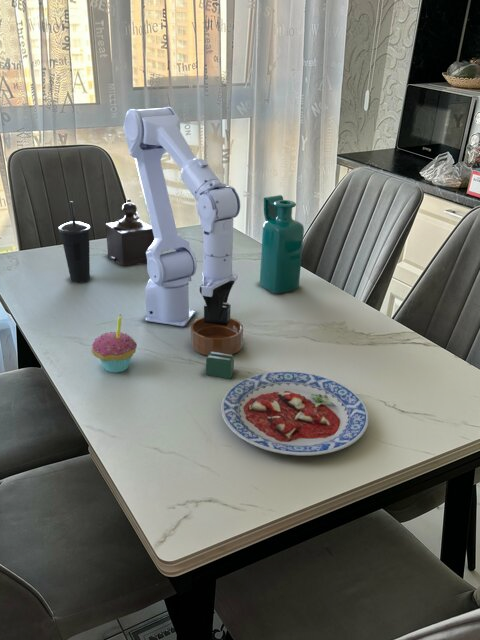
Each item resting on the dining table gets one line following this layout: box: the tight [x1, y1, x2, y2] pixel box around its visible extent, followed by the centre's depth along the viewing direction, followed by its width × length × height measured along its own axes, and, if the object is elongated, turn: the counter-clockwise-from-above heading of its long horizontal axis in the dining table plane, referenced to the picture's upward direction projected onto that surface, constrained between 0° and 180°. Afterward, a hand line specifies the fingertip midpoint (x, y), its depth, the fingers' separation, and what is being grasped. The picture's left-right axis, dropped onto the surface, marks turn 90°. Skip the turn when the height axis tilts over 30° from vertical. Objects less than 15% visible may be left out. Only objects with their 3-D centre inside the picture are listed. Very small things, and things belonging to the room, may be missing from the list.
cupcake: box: [91, 313, 137, 373], centre depth 117 cm, size 9×8×12 cm
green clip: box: [205, 352, 235, 380], centre depth 118 cm, size 5×2×4 cm, turn 75°
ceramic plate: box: [220, 371, 370, 457], centre depth 106 cm, size 26×26×3 cm
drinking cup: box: [58, 200, 91, 284], centre depth 152 cm, size 8×8×20 cm
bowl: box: [190, 316, 244, 357], centre depth 128 cm, size 11×11×4 cm
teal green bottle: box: [259, 194, 305, 294], centre depth 152 cm, size 10×8×22 cm
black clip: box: [203, 302, 231, 326], centre depth 125 cm, size 5×2×4 cm, turn 75°
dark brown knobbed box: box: [105, 198, 155, 267], centre depth 165 cm, size 16×11×18 cm
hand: (216, 315), depth 125 cm, fingers closed on black clip, 2 cm apart
